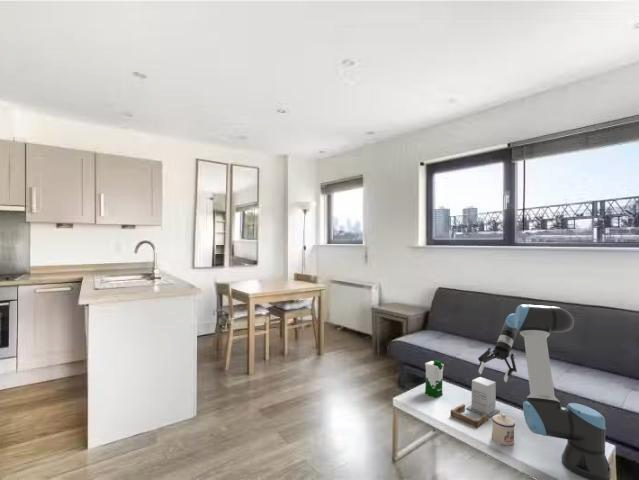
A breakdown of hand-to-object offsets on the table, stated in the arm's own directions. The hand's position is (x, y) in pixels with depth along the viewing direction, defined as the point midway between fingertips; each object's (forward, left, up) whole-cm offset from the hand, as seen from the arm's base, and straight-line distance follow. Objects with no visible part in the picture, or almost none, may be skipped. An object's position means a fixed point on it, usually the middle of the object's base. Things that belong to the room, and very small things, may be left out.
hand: (491, 376), depth 183 cm
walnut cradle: (-16, +18, -15) cm, 29 cm away
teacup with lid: (-34, +10, -16) cm, 38 cm away
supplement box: (-7, +8, -15) cm, 18 cm away
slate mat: (-7, +8, -15) cm, 18 cm away
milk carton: (+10, +28, -16) cm, 34 cm away
